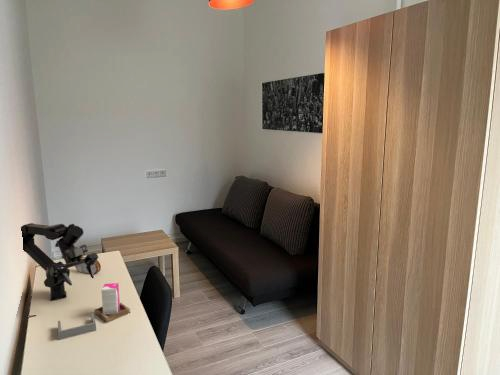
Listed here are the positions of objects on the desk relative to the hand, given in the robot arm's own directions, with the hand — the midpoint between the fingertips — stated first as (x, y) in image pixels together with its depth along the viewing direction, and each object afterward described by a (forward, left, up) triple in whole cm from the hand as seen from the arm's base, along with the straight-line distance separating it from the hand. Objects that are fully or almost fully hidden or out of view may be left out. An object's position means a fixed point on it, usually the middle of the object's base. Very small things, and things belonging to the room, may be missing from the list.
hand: (82, 281), depth 154 cm
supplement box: (+10, +9, -12) cm, 18 cm away
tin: (-40, +4, -13) cm, 43 cm away
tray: (+10, +10, -12) cm, 18 cm away
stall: (+15, -4, -12) cm, 20 cm away
